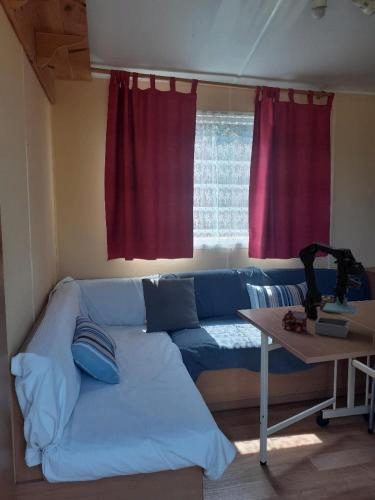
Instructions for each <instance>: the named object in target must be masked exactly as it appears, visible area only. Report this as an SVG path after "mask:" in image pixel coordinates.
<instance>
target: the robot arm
mask: <svg viewBox="0 0 375 500" xmlns="http://www.w3.org/2000/svg"><path fill="white" fill-rule="evenodd" d="M319 252H321V253H324V254H328V255H331V256H332V258H334V259H336V260H335V261H334V262H333V264H336V276H335V278H336V282H335V286H334V287H333V288H332V289H333V291H332V292H333V293H335V294H336V296H337V297H338V299H339V302H340V304H343V300H344V298H345V297H346V294H348V292H349V291H350V288H353V289H355V290H359V289H360V287H361V285H362V282H361V281H360V279H359V278H358V277H362V276H363V275H364V274H365V271H366V269H365V268H364V267H365V266H364V265H363V263H362V261H357V260H356V258H355V256H354V255H353V252H352V250H351V249H350V248H347V247H346V248H343V247H334V246H332V245H327V244H324V243H321V242H319V241H317V242H312V243H311V244H309V245H308V246H306V247H304V248H302V249H300V250H299V252H298V256H299V259H300V262H301V264H303V266H304V267H303V268H304V274H305V281H306V282H305V283H306V290H307V291H306V292H305V299H304V300H303V301H302V302H301V307H302V308H304V312H306V313H307V314H308V317H307V319H309V320H317V319H318V317H319V310H318V308H320V307H319V306H320V303H321V302H322V296H323V294H322V292H321V291H319V290H318V289H317V281H316V274H315V268H314V262H315V259H316V255H318V253H319ZM350 275H351V276H356V277H355V278H351V276H350ZM337 297H336V298H337Z"/></svg>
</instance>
